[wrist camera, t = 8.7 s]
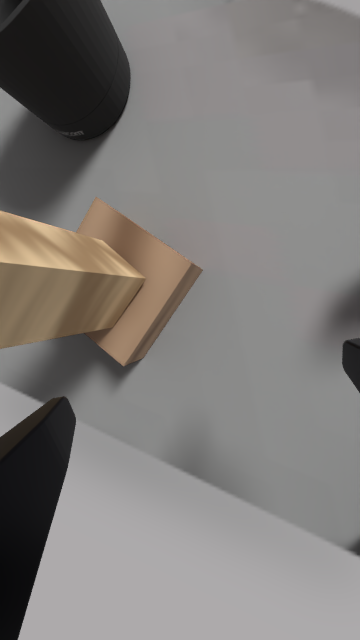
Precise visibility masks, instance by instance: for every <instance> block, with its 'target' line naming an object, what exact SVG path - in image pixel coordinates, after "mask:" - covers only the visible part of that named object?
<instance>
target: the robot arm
mask: <svg viewBox="0 0 360 640" xmlns="http://www.w3.org/2000/svg"><path fill="white" fill-rule="evenodd" d="M342 365H343V368H344V370H345V372H346V374H347V375H348V376H349V378H350V379H351V381H352V382H353V384H354V385H355V387H356V388H357V390H358V391H359V392H360V338H355V339H350V340H346V341H345V342H344V343H343V354H342ZM75 425H76V417H75V414H74V412H73V410H72V407H71V405H70V403H69V401H68V399H67V398H66V397H64V396H63V397H57V398H53V399H51V400H50V401H48V402H47V403H46V404H44V405H43V406H42V407H40V408H39V409H38V410H36V411H35V412H34V413H32V414H31V415H30V416H28V417H27V418H26V419H24V420H23V421H21V422H20V423H19V424H17V425H16V426H15V427H14V428H12V429H11V430H9V431H8V432H7V433H5V434H4V435H3V436H1V437H0V640H18V637H19V633H20V630H21V626H22V623H23V620H24V616H25V612H26V609H27V606H28V602H29V599H30V596H31V592H32V588H33V585H34V582H35V578H36V575H37V571H38V568H39V565H40V561H41V558H42V554H43V551H44V547H45V544H46V541H47V537H48V534H49V530H50V527H51V523H52V520H53V517H54V513H55V510H56V506H57V503H58V499H59V496H60V492H61V489H62V485H63V482H64V479H65V475H66V471H67V468H68V463H69V458H70V452H71V447H72V442H73V436H74V430H75Z"/></svg>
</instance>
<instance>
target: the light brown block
mask: <svg viewBox="0 0 360 640" xmlns="http://www.w3.org/2000/svg"><path fill="white" fill-rule="evenodd" d="M76 233H79V234H82V235H85V236H89V237H92V238H96V239H99V240H102V241H104V242H105V243H106V244H107V245H108V246H109V247H111V248H112V249H113V250H114V251H115V252H116V253H117V254H119V255H120V256H121V257H122V258H123V259H124V260H125V261H127V262H128V263H129V264H130V265H131V266H132V267H133V268H135V269H136V270H137V271H138V272H139V273H140V274H141V275H143V276H144V277H145V278H146V279H145V281H144V282H143V284H142V285H141V287H140V288H139V290H138V291H137V293H136V294H135V295H134V297H133V298H132V300H131V301H130V303H129V304H128V306H127V307H126V309H125V310H124V312H123V313H122V315H121V316H120V317H119V319H118V320H117V322H116V323H115V325H114V326H113V327H112V328H107V329H102V330H96V331H91V332H86V333H84V334H86V335H87V336H88V337H89V338H90V339H92V340H93V341H94V342H95V343H96V344H98V345H99V346H100V347H101V348H102V349H104V350H105V351H106V352H107V353H108V354H109V355H111V356H112V357H113V358H114V359H115V360H117V361H118V362H119V363H120V364H121V365H123V366H126V365H128V364H130V363H133V362H135V361H137V360H140V359H142V358H144V356H145V355H146V353H147V352H148V350H149V349H150V347H151V346H152V345H153V343H154V342H155V340H156V339H157V337H158V336H159V334H160V333H161V331H162V330H163V328H164V327H165V325H166V324H167V322H168V321H169V319H170V318H171V316H172V315H173V313H174V312H175V310H176V309H177V308H178V306H179V305H180V303H181V302H182V300H183V299H184V297H185V296H186V294H187V293H188V291H189V290H190V288H191V287H192V285H193V284H194V282H195V281H196V279H197V278H198V276H199V275H200V273H201V272H202V271H203V270H202V269H201V268H200V267H198V266H197V265H195V264H194V263H192V262H191V261H189V260H188V259H186V258H185V257H184V256H182V255H181V254H179V253H178V252H176V251H175V250H173V249H172V248H170V247H169V246H168V245H166V244H165V243H163V242H162V241H160V240H159V239H157V238H156V237H154V236H153V235H152V234H150V233H149V232H147V231H146V230H144V229H143V228H141V227H140V226H139V225H137V224H136V223H134V222H133V221H131V220H130V219H128V218H127V217H125V216H124V215H123V214H121V213H120V212H118V211H117V210H115V209H114V208H112V207H111V206H109V205H108V204H106V203H105V202H103V201H102V200H100V199H99V198H97V197H96V198H95V199H94V201H93V203H92V205H91V207H90V208H89V210H88V212H87V214H86V216H85V217H84V219H83V221H82V223H81V225H80V227H79V228H78V230H77V232H76Z"/></svg>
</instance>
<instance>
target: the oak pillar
mask: <svg viewBox="0 0 360 640" xmlns="http://www.w3.org/2000/svg"><path fill="white" fill-rule="evenodd" d="M145 279H146V278H145V277H144V276H143V275H141V274H140V273H139V272H138V271H137V270H136V269H135V268H133V267H132V266H131V265H130V264H129V263H128V262H127V261H125V260H124V259H123V258H122V257H121V256H120V255H119V254H117V253H116V252H115V251H114V250H113V249H112V248H111V247H109V246H108V245H107V244H106V243H105V242H104V241H102V240H99V239H96V238H92V237H89V236H85V235H82V234H79V233H75V232H72V231H68V230H65V229H62V228H58V227H55V226H51V225H48V224H44V223H41V222H38V221H34V220H31V219H27V218H24V217H20V216H17V215H14V214H10V213H7V212H3V211H0V349H2V348H7V347H12V346H18V345H23V344H28V343H33V342H39V341H44V340H49V339H54V338H60V337H65V336H70V335H75V334H81V333H86V332H91V331H96V330H102V329H107V328H112V327H113V326H114V325H115V323H116V322H117V320H118V319H119V317H120V316H121V315H122V313H123V312H124V310H125V309H126V307H127V306H128V304H129V303H130V301H131V300H132V298H133V297H134V295H135V294H136V293H137V291H138V290H139V288H140V287H141V285H142V284H143V282H144V281H145Z"/></svg>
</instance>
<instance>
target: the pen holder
mask: <svg viewBox="0 0 360 640" xmlns="http://www.w3.org/2000/svg"><path fill="white" fill-rule="evenodd" d="M0 87H1V88H2V89H3V90H4V91H6V92H7V93H8V94H9V95H11V96H12V97H13V98H14V99H16V100H17V101H18V102H20V103H21V104H22V105H23V106H25V107H26V108H27V109H28V110H30V111H31V112H32V113H34V114H35V115H36V116H37V117H39V118H40V119H41V120H43V121H44V122H45V123H47V124H48V125H49V126H51V127H52V128H53V129H55V130H56V131H57V132H59V133H60V134H62V135H63V136H65V137H68V138H71V139H77V140H83V139H89V138H92V137H95V136H98V135H99V134H101V133H103V132H104V131H106V130H107V129H108V128H109V127H110V126H111V125H112V124H113V123H114V122H115V121H116V120H117V118H118V117H119V115H120V114H121V112H122V110H123V108H124V106H125V103H126V101H127V97H128V93H129V88H130V67H129V62H128V59H127V56H126V53H125V51H124V49H123V47H122V45H121V43H120V40H119V38H118V36H117V34H116V32H115V30H114V28H113V25H112V23H111V21H110V19H109V17H108V15H107V13H106V11H105V9H104V7H103V5H102V3H101V1H100V0H0Z"/></svg>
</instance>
